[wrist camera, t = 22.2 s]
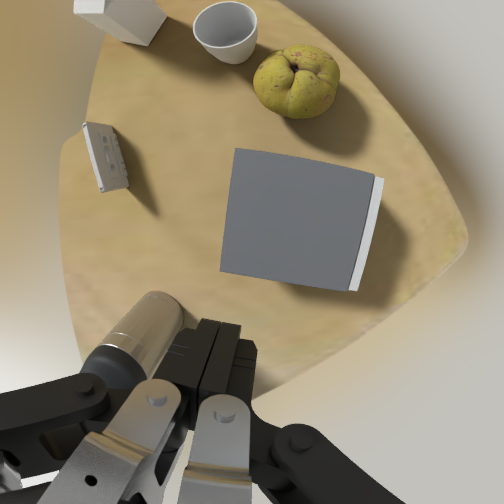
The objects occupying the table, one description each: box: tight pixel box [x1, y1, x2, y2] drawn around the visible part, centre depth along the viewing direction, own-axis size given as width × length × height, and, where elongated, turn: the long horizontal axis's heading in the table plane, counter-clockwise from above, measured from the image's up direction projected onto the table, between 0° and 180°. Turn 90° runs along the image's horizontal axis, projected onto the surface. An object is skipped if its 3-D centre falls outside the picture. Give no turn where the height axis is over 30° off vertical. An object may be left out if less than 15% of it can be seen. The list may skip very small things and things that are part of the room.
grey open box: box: [220, 148, 374, 292], centre depth 35 cm, size 14×15×12 cm
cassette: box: [82, 122, 129, 193], centre depth 37 cm, size 12×2×8 cm, turn 18°
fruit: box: [253, 45, 340, 119], centre depth 31 cm, size 11×12×10 cm
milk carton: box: [74, 0, 167, 46], centre depth 24 cm, size 7×7×19 cm
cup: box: [193, 1, 257, 64], centre depth 29 cm, size 8×8×10 cm
